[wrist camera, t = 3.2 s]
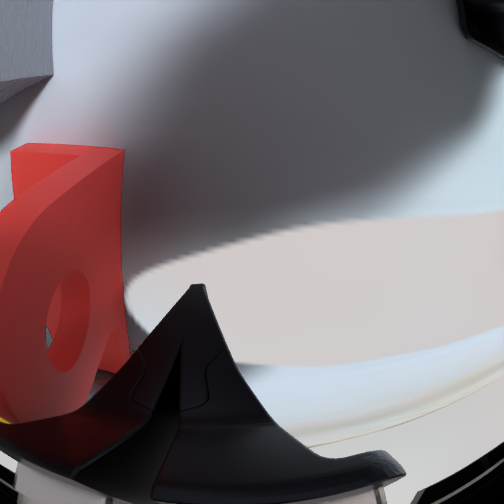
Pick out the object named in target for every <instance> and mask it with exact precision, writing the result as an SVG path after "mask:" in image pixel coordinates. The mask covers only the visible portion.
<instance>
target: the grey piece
mask: <svg viewBox="0 0 504 504" xmlns="http://www.w3.org/2000/svg"><path fill="white" fill-rule="evenodd" d="M52 5H53V0H0V104H1V103H2V102H4V101H5V100H7V99H9V98H10V97H12V96H14V95H15V94H17V93H19V92H21V91H22V90H24V89H26V88H28V87H30V86H31V85H33V84H35V83H37V82H39V81H41V80H43V79H45V78H47V77H49V76H51V75H53V62H52ZM114 375H115V373H113V372H109V371H106V370H102V369H97V372H96V375H95V378H94V381H93V384H92V387H91V390H90V393H89V396H88V398H87V400H86V402H87V401H88V400H89V399H90V398H91V397H92V396H93V395H94V394H95V393H96V392H97V391H98V390H99V389H100V388H101V387H102V386H103V385H105V384H106V383H107V382H108V381H109V380H110V379H111V378H112V377H113V376H114Z"/></svg>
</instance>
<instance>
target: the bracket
mask: <svg viewBox="0 0 504 504" xmlns="http://www.w3.org/2000/svg"><path fill="white" fill-rule="evenodd" d="M124 151H125V150H123V149H114V148H104V147H93V146H81V145H65V144H43V143H27V144H25V145H22V146H20V147H18V148H16V149H14V150H12V151H10V154H11V172H12V183H13V193H14V200H13V201H11V202H10V203H9V204H8V205H7V206H6V207H5V208H3V209H2V210H1V212H0V417H1V418H3V419H4V420H6V421H8V422H9V423H11V424H18V423H25V422H30V421H36V420H41V419H46V418H51V417H55V416H60V415H64V414H68V413H71V412H73V411H75V410H77V409H79V408H80V407H81V406H83V405H84V404H85V403H86V400H87V398H88V396H89V393H90V390H91V387H92V384H93V381H94V378H95V375H96V372H97V369H102V370H106V371H109V372H113V373H116V372H117V371H118V370H119V369H120V368H121V367H122V366H123V365H124V364H125V363H126V362H127V360H128V359H129V358H130V357H131V353H130V347H129V340H128V332H127V324H126V314H125V304H124V292H123V278H122V257H121V197H122V177H123V162H124ZM46 324H47V327H48V329H49V332H50V334H51V337H52V339H53V341H52V343H51V345H50V347H49V349H48V350H47V346H46Z"/></svg>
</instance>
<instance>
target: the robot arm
mask: <svg viewBox="0 0 504 504" xmlns="http://www.w3.org/2000/svg"><path fill="white" fill-rule="evenodd" d="M457 5H458V12H459V19H460V26H461V30H462V32H463V34H464V35H465V37H466V38H467V39H469V40H470V41H472V42H474V43H476V44H478V45H480V46H482V47H483V48H485V49H487V50H489V51H490V52H492V53H494V54H496V55H497V56H499V57H501V58H502V59H504V0H457ZM471 28H472V30H471ZM472 31H473V32H472ZM0 450H1V451H2V452H3V453H5V454H7V455H8V456H10V457H11V458H13V459H15V460H16V461H18V464H17V469H16V473H14V472H12V471H11V470H9V469H7V468H6V467H4V466H2V465H1V464H0V504H387V501H386V496H385V492H384V488H383V487H385V486H387V485H389V484H391V483H393V482H395V481H397V480H399V479H401V478H402V477H404V476H405V475H406V472H405V470H404V469H403V467H402V466H401V465H400V464H399V463H398V462H397V461H396V460H395V459H394V458H393V457H392V456H391V455H390V454H389V453H388V452H386V451H383V450H376V451H369V452H365V453H361V454H357V455H353V456H349V457H345V458H337V459H335V458H326V457H322V456H319V455H318V454H316V453H314V452H313V451H312V450H310V449H309V448H307V447H306V446H305V445H303V444H302V443H301V442H299V441H298V440H297V439H295V438H294V437H293V436H292V435H290V434H289V433H288V432H286V431H285V430H284V429H283V428H281V427H280V426H279V425H278V424H277V423H276V422H275V421H274V420H273V418H272V417H271V416H270V415H269V414H268V412H267V411H266V410H265V408H264V407H263V406H262V404H261V403H260V401H259V400H258V399H257V397H256V396H255V394H254V393H253V391H252V390H251V389H250V387H249V386H248V384H247V383H246V381H245V380H244V378H243V376H242V375H241V373H240V372H239V370H238V368H237V366H236V364H235V362H234V360H233V358H232V356H231V353H230V351H229V349H228V346H227V344H226V342H225V339H224V337H223V334H222V332H221V330H220V327H219V325H218V322H217V320H216V317H215V315H214V312H213V310H212V307H211V305H210V302H209V300H208V295H207V291H206V287H205V285H204V284H192V285H190V287H189V289H188V290H187V291H186V292H185V294H184V295H183V296H182V297H181V298H180V299H179V300H178V302H177V303H176V304H175V305H174V306H173V307H172V309H171V310H170V311H169V312H168V313H167V314H166V316H165V317H164V318H163V319H162V320H161V322H160V323H159V324H158V325H157V326H156V327H155V329H154V330H153V331H152V332H151V333H150V334H149V336H148V337H147V338H146V339H145V340H144V342H143V343H142V344H141V345H140V346H139V347H138V350H136V351H135V352H134V353H133V355H132V356H131V357H130V358H129V359H128V360H127V362H126V363H125V364H124V365H123V366H122V367H121V368H120V369H119V370H118V371H117V372H116V373H115V375H114V376H113V377H112V378H111V379H110V380H109V381H108V382H107V383H106V384H105V385H103V386H102V387H101V388H100V389H99V390H98V391H97V392H96V393H95V394H94V395H93V396H92V397H91V398H90V399H89V400H88V401H87V402H86V403H85V404H84V405H83V406H81V407H80V408H79V409H77V410H75V411H73V412H71V413H68V414H64V415H60V416H55V417H51V418H46V419H41V420H36V421H30V422H25V423H18V424H8V423H3V422H0ZM411 504H504V442H502V443H501V444H500V445H498V446H497V447H495V448H494V449H492V450H491V451H489V452H488V453H486V454H485V455H483V456H482V457H480V458H479V459H477V460H476V461H474V462H473V463H471V464H469V465H468V466H466V467H465V468H463V469H461V470H460V471H458V472H456V473H454V474H452V475H450V476H449V477H447V478H445V479H443V480H441V481H439V482H437V483H435V484H433V485H431V486H429V487H427V488H425V489H423V490H421V491H418V492H417V494H416V495H415V497H414V499H413V501H412V502H411Z"/></svg>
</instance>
